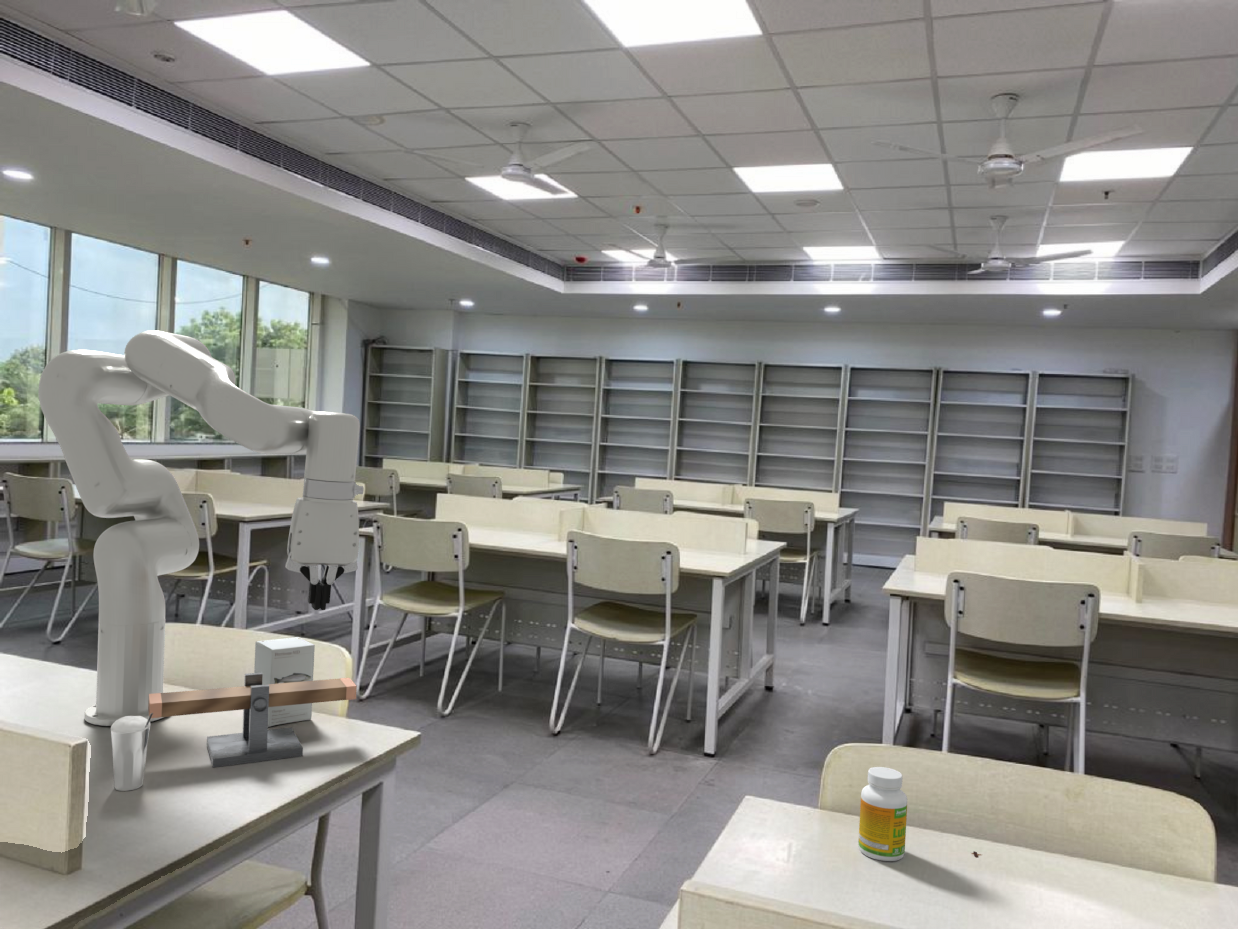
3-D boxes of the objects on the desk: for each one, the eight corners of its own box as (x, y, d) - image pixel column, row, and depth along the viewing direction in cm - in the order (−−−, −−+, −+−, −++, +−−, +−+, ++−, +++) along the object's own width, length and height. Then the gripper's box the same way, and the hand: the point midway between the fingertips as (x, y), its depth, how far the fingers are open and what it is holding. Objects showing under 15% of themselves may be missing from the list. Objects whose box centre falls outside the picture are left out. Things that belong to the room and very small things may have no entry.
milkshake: (136, 796, 113) (139, 718, 113) (100, 791, 114) (102, 714, 114) (161, 783, 118) (164, 708, 118) (126, 778, 119) (129, 704, 119)
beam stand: (212, 767, 124) (215, 693, 124) (206, 744, 133) (209, 675, 132) (302, 756, 130) (305, 684, 129) (291, 735, 138) (293, 668, 138)
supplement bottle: (897, 867, 103) (902, 784, 103) (852, 854, 106) (856, 773, 106) (909, 850, 108) (913, 771, 108) (865, 838, 111) (869, 761, 111)
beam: (149, 718, 122) (149, 703, 122) (148, 708, 126) (148, 694, 126) (356, 699, 136) (356, 686, 136) (348, 690, 140) (349, 677, 140)
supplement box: (267, 728, 141) (270, 649, 141) (251, 716, 147) (254, 640, 146) (313, 720, 146) (315, 644, 146) (295, 708, 152) (298, 635, 151)
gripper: (371, 491, 145) (361, 602, 145) (274, 486, 137) (264, 603, 138) (382, 496, 138) (372, 613, 139) (281, 491, 131) (270, 614, 131)
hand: (318, 608), depth 138 cm, fingers closed
